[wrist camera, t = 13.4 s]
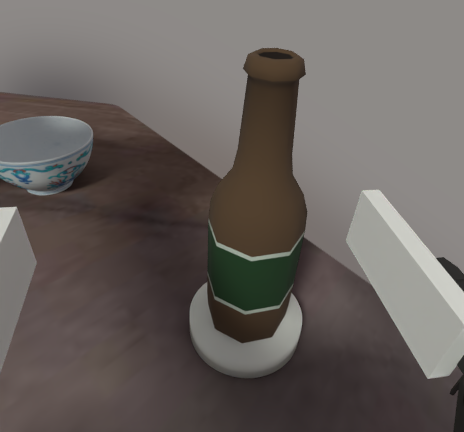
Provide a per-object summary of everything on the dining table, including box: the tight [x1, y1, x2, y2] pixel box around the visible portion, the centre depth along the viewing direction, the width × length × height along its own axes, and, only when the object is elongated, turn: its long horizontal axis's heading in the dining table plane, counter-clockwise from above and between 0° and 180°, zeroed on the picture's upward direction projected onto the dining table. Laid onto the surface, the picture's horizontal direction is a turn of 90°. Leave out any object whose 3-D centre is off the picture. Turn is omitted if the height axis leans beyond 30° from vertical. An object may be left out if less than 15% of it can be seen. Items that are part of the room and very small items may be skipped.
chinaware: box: [0, 116, 93, 195], centre depth 56 cm, size 15×15×8 cm
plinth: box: [190, 282, 302, 378], centre depth 38 cm, size 11×11×2 cm
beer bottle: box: [207, 48, 307, 343], centre depth 30 cm, size 8×8×24 cm
